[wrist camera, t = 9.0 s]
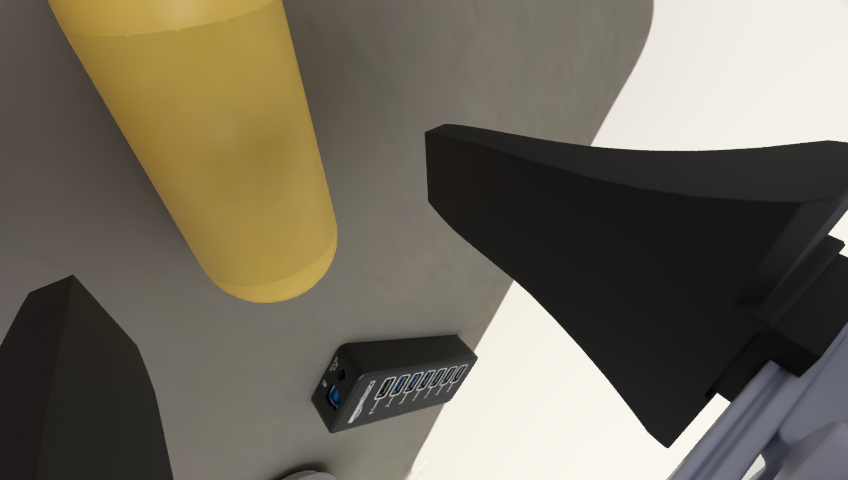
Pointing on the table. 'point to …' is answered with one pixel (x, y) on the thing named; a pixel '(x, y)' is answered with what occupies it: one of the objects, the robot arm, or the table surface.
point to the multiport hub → (390, 379)
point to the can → (310, 476)
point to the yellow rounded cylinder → (216, 131)
